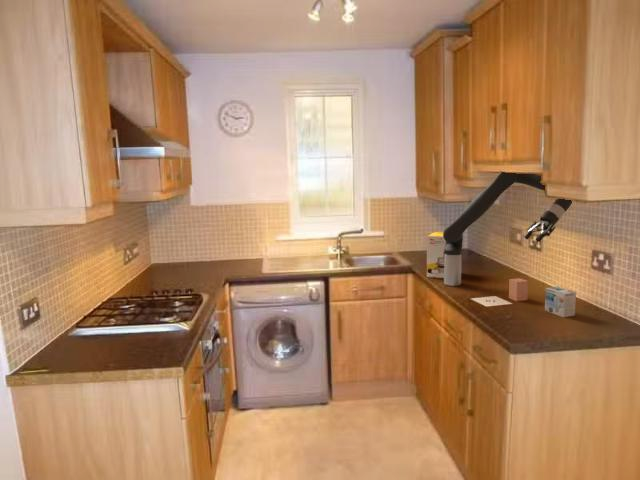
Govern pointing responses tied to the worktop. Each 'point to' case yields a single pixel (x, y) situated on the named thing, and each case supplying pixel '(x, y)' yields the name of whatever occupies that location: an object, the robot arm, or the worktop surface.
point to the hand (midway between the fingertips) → (531, 239)
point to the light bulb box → (560, 301)
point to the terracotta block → (518, 289)
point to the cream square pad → (491, 301)
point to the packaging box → (435, 255)
